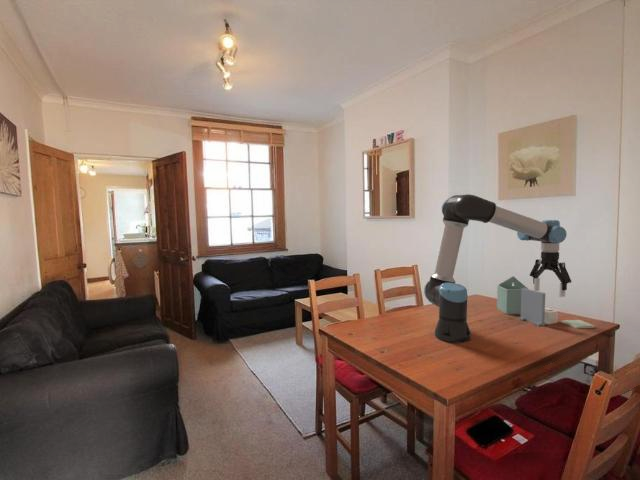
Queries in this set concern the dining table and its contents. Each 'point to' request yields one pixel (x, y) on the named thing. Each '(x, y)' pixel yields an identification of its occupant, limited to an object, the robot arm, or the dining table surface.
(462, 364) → the dining table surface
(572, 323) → the pad
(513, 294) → the planter
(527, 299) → the board
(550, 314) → the letter cube
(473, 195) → the robot arm
